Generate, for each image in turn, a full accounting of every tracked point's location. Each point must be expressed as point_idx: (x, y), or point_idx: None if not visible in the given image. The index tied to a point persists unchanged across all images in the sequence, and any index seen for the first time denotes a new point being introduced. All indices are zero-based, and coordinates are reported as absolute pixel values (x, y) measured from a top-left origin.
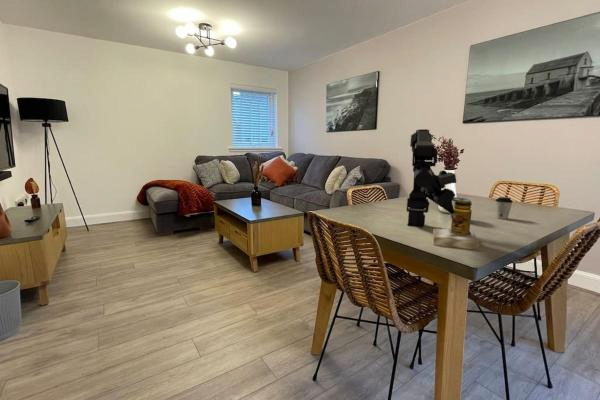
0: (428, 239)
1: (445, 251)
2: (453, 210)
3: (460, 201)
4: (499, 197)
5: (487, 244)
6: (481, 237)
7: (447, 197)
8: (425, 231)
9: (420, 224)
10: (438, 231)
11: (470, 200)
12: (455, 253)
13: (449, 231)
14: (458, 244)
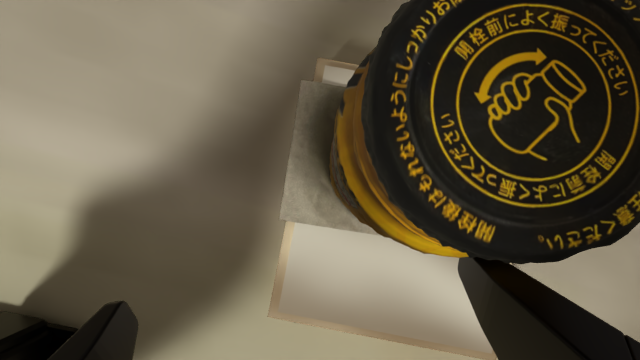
0: (371, 347)
1: (577, 296)
2: (511, 268)
3: (443, 128)
4: None
5: None
6: (265, 12)
7: None
8: (191, 332)
9: (51, 350)
10: (357, 303)
11: None
12: (598, 249)
13: (355, 227)
14: None
